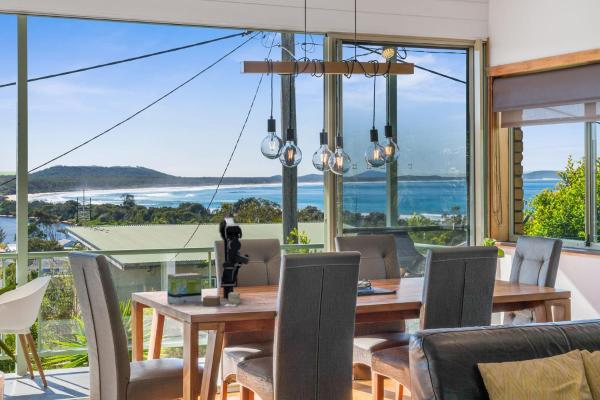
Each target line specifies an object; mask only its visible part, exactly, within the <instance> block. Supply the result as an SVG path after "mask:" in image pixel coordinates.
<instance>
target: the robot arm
mask: <svg viewBox="0 0 600 400" xmlns="http://www.w3.org/2000/svg"><path fill="white" fill-rule="evenodd" d="M218 233H219V235H220V238H221V240H222V242H223V263H222V269H223V270H222V272H221V275H220V277H219V278H220V281H219V287H220V288H222V297H221V299H228V294H229V293H231V292H235V291H234V290H235V288H236V287H238V282H239V281H238V280H239V277H238V276H239V272H240V269H241V268H242V267H243V266H244V265H249V264H250V262H251V257H250V255H249V254H247V253H246V254H241V251H240V250H241V248H242V242H241V241H240V240H239V239H243V231H242V228H241V226H240V225H239V224H236V222H235V221H234V217H224V218H223V220H222V221H221V222H219V225H218Z"/></svg>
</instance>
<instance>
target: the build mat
mask: <svg viewBox="0 0 600 400" xmlns="http://www.w3.org/2000/svg"><path fill="white" fill-rule="evenodd" d="M227 304H229V302H228V301H220V304H219V305H218V306H216V307H224V308H225V307H226V308H227V307H228V308H229V307H230V308H232V307H233V308H237V307H238V306H239V307H240V306H241V305H242V304H244V301H240V303H239V304H237V305H236V306H225V305H227ZM193 307H204V306H203V300H201V301H199V303H198V302H197V303H196V304H195V305H193Z"/></svg>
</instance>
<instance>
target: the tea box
mask: <svg viewBox="0 0 600 400" xmlns="http://www.w3.org/2000/svg"><path fill="white" fill-rule="evenodd" d="M202 276H203V275H202V274H201V273H195V272H189V273H187V272H183V273H171V274H170V273H169V274H167V293H166V294H167V296H166V297H167V298H166V299H167V303H168V304H172V305H174V304H177V305H178V304H187V303H196V302H197V303H198V302H202V299H203V297H202V292H203V291H202V289H203V288H202V286H203V284H202V283H203V282H202V281H203V280H202V279H203V278H202Z"/></svg>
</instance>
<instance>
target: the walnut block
mask: <svg viewBox="0 0 600 400" xmlns="http://www.w3.org/2000/svg"><path fill="white" fill-rule="evenodd" d="M202 301H203V306H202V307H217V306H218V305H219V304H220V302H221V295H206V296H203V297H202Z"/></svg>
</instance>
